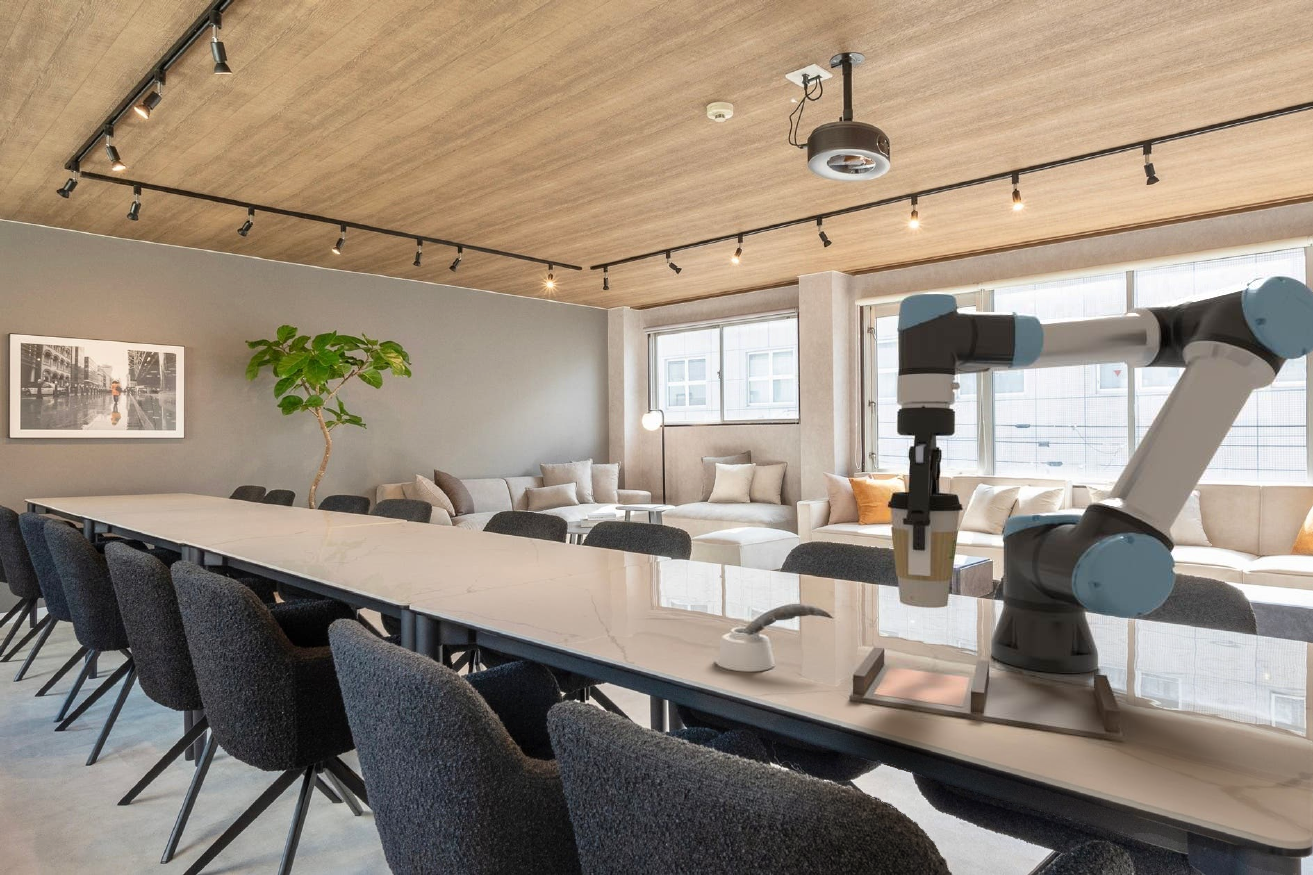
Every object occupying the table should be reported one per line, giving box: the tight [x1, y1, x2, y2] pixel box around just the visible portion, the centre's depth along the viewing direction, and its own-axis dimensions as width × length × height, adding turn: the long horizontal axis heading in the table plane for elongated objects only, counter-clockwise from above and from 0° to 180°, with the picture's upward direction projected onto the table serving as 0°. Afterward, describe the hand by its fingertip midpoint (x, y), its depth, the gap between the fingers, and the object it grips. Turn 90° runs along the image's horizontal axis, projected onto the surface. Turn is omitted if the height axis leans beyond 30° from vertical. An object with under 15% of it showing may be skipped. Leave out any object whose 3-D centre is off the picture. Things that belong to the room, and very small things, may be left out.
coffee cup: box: [886, 491, 964, 609], centre depth 106 cm, size 10×10×15 cm
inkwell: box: [714, 603, 834, 673], centre depth 117 cm, size 9×18×10 cm, turn 69°
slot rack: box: [848, 646, 1124, 743], centre depth 103 cm, size 31×18×3 cm, turn 65°
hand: (923, 569), depth 106 cm, fingers closed on coffee cup, 10 cm apart
